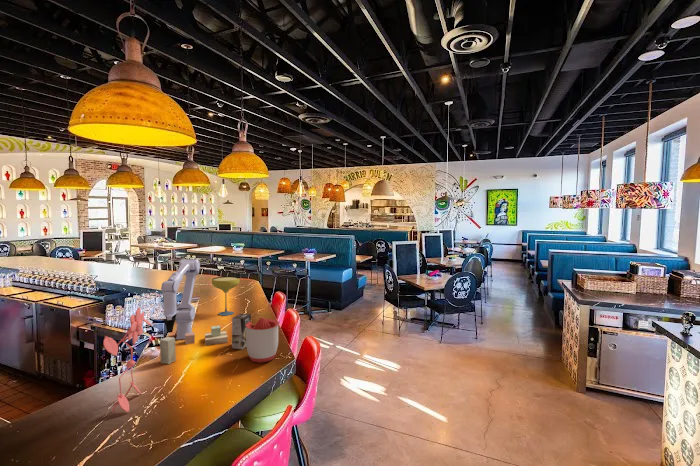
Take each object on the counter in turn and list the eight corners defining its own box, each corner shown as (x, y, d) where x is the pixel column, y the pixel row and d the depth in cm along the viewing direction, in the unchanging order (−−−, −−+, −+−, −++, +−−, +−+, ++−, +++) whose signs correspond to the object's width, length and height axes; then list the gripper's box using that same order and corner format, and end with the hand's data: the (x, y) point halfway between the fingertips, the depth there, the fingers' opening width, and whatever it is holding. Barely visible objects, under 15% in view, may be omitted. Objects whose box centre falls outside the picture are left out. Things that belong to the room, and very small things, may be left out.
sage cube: (211, 334, 185) (211, 326, 185) (219, 333, 187) (219, 325, 187) (211, 337, 181) (211, 328, 181) (220, 336, 183) (220, 327, 183)
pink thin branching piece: (95, 427, 108) (96, 320, 107) (131, 387, 134) (132, 300, 132) (147, 423, 111) (148, 319, 110) (173, 385, 136) (174, 300, 135)
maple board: (205, 338, 187) (204, 333, 187) (225, 335, 192) (225, 330, 192) (205, 345, 177) (205, 340, 177) (227, 342, 182) (227, 337, 182)
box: (176, 360, 158) (175, 337, 158) (168, 364, 154) (168, 340, 154) (167, 359, 160) (167, 336, 159) (159, 362, 156) (159, 339, 155)
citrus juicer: (266, 348, 175) (266, 310, 174) (285, 358, 163) (285, 317, 162) (238, 356, 164) (238, 316, 163) (255, 368, 152) (255, 324, 151)
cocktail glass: (245, 312, 237) (244, 278, 236) (223, 319, 222) (223, 282, 221) (228, 308, 247) (228, 275, 246) (206, 314, 232) (206, 278, 230)
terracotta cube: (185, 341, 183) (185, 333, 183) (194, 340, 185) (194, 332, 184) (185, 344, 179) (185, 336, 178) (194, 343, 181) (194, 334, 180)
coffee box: (242, 349, 172) (242, 318, 172) (231, 348, 174) (231, 317, 173) (251, 343, 181) (251, 313, 181) (240, 342, 183) (240, 312, 182)
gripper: (178, 306, 167) (178, 333, 168) (179, 300, 181) (179, 324, 181) (162, 308, 164) (162, 335, 165) (164, 301, 178) (164, 326, 178)
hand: (170, 330), depth 173 cm, fingers open, 7 cm apart
